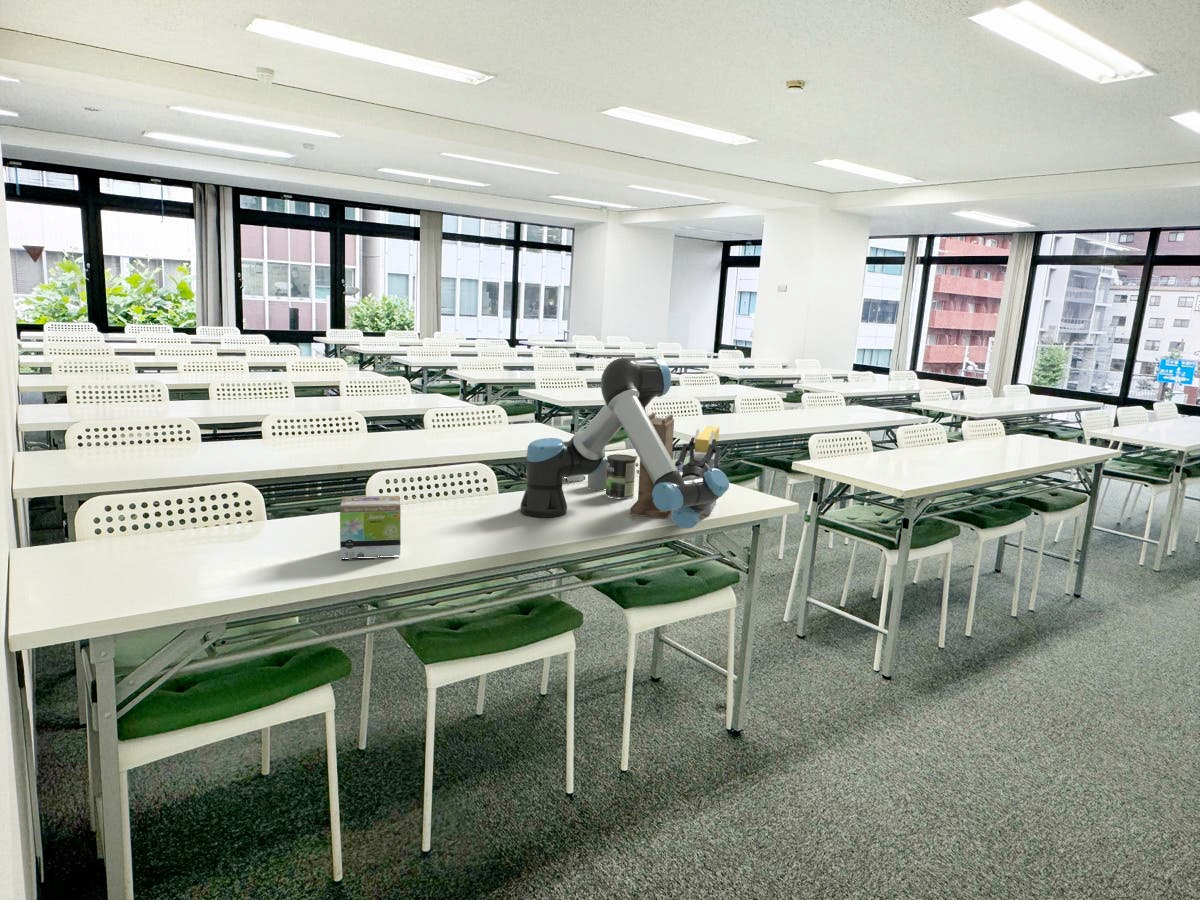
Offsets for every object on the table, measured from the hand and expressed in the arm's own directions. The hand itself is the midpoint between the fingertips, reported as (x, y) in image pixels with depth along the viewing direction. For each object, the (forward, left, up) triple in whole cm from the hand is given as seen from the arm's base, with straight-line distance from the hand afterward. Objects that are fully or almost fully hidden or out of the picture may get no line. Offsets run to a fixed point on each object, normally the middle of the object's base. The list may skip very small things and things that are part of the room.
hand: (705, 433), depth 234 cm
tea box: (-77, -67, -29) cm, 106 cm away
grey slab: (-1, +14, -28) cm, 32 cm away
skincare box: (-55, +37, -29) cm, 73 cm away
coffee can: (-31, +19, -29) cm, 47 cm away
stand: (-16, +6, -28) cm, 33 cm away
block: (0, +5, -5) cm, 7 cm away
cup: (-41, +27, -29) cm, 57 cm away
